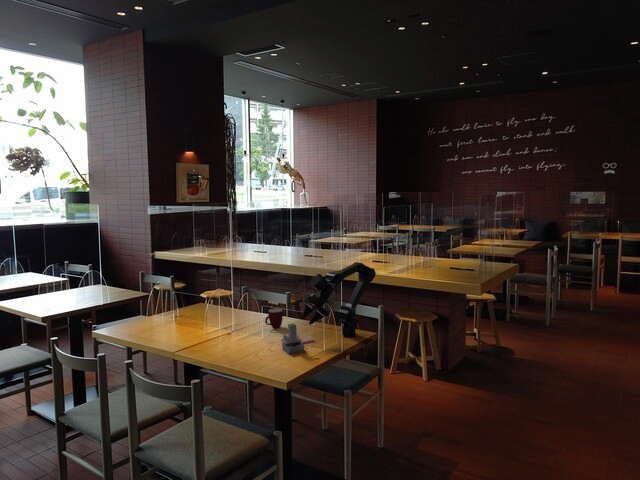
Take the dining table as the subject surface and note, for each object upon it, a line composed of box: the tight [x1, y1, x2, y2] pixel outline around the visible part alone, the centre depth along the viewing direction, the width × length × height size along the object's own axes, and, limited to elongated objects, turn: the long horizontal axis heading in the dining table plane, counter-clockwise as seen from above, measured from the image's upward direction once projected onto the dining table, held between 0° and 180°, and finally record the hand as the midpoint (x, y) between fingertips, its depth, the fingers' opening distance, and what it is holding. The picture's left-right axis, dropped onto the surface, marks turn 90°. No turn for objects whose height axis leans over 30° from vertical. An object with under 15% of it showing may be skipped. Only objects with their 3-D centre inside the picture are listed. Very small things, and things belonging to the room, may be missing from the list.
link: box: [281, 323, 305, 356], centre depth 231 cm, size 8×8×13 cm
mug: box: [264, 307, 284, 330], centre depth 267 cm, size 10×8×10 cm
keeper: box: [280, 333, 315, 345], centre depth 245 cm, size 14×10×4 cm
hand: (305, 321), depth 235 cm, fingers open, 9 cm apart
